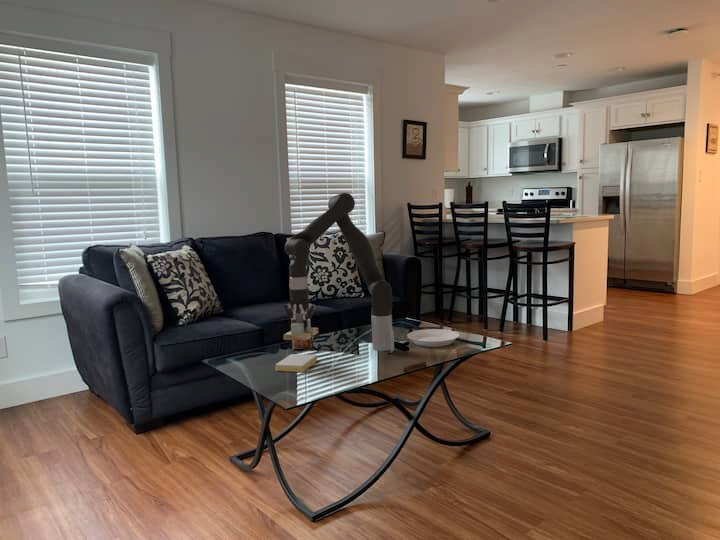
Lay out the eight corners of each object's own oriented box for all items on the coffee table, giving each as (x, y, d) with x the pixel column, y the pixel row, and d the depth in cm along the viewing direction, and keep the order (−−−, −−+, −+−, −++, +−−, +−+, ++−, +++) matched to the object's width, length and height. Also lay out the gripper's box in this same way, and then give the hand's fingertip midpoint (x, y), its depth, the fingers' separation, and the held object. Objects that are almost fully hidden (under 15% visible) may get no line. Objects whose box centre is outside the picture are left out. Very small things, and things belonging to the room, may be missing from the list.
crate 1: (295, 332, 231) (294, 322, 231) (304, 332, 230) (303, 322, 230) (291, 334, 227) (290, 324, 227) (300, 334, 226) (299, 324, 226)
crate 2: (302, 328, 238) (301, 319, 237) (310, 328, 237) (310, 319, 236) (298, 330, 234) (297, 321, 234) (307, 330, 233) (306, 321, 232)
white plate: (402, 348, 260) (402, 340, 260) (413, 335, 284) (412, 328, 284) (456, 349, 253) (455, 342, 253) (462, 336, 277) (462, 329, 276)
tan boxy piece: (296, 331, 240) (295, 309, 239) (318, 332, 238) (317, 309, 236) (283, 339, 227) (282, 315, 226) (306, 340, 224) (305, 316, 223)
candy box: (292, 350, 264) (290, 319, 262) (292, 348, 268) (290, 317, 266) (311, 349, 265) (309, 317, 263) (311, 347, 269) (309, 316, 268)
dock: (317, 364, 240) (317, 355, 240) (303, 375, 225) (302, 365, 224) (291, 363, 244) (290, 354, 243) (275, 374, 228) (275, 364, 228)
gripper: (317, 286, 231) (319, 326, 233) (286, 286, 235) (288, 326, 237) (311, 288, 224) (313, 330, 226) (279, 288, 228) (281, 330, 230)
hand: (300, 328), depth 232 cm, fingers closed on tan boxy piece, 3 cm apart
